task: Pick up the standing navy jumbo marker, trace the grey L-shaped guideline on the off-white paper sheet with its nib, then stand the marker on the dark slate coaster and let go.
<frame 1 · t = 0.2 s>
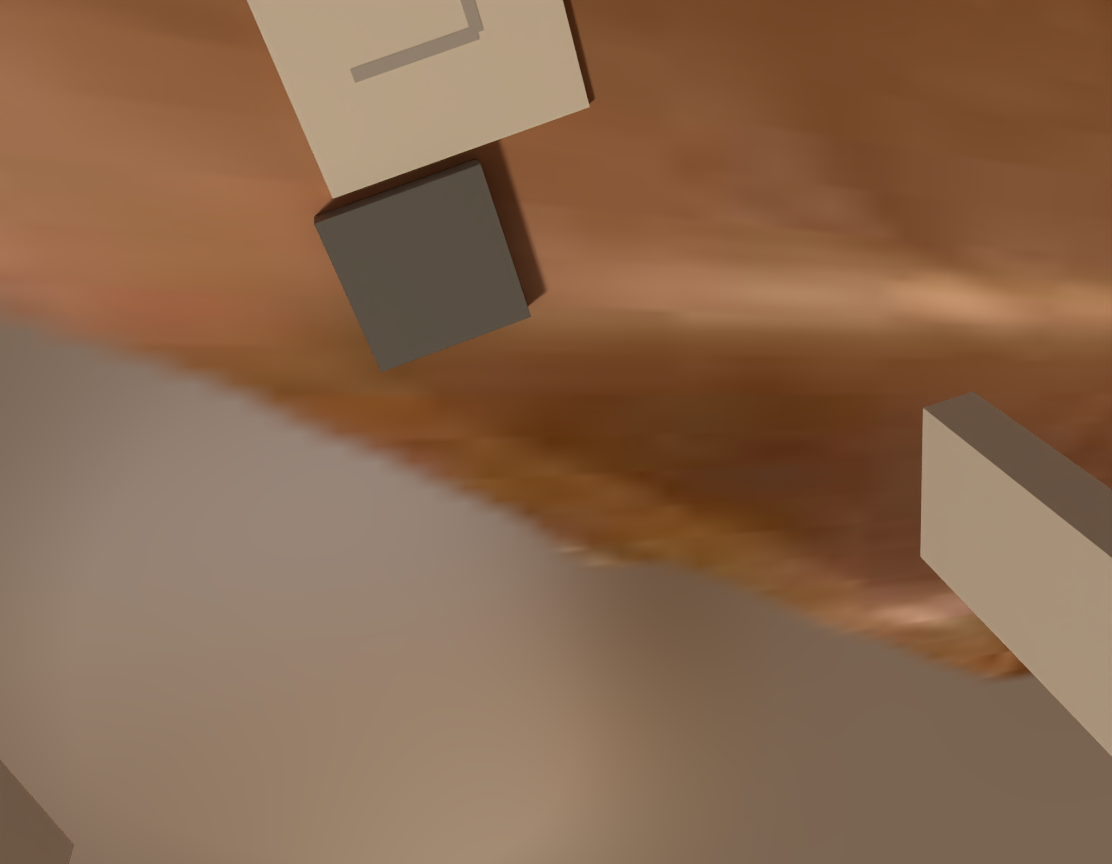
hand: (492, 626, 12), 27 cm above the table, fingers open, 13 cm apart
coaster: (426, 265, 38), on the table
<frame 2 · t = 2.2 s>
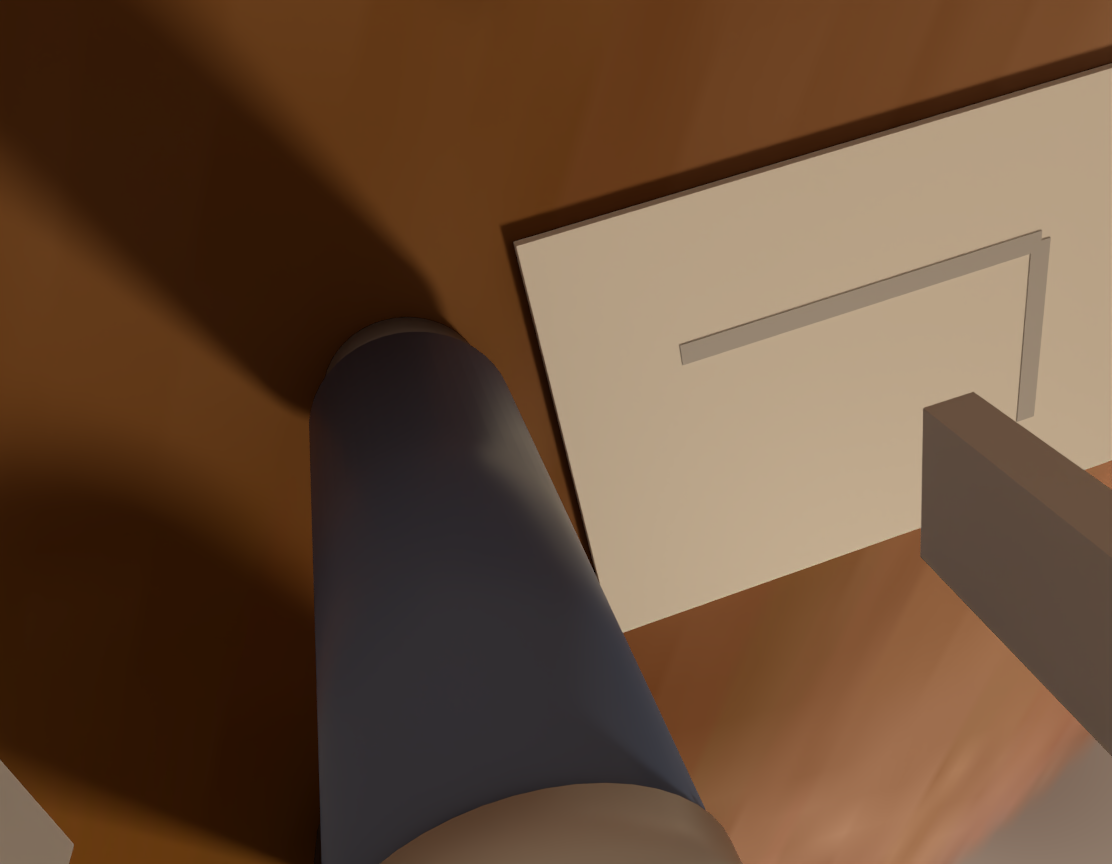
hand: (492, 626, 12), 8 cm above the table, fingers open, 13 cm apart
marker: (406, 392, 19), on the table
paper: (878, 360, 21), on the table
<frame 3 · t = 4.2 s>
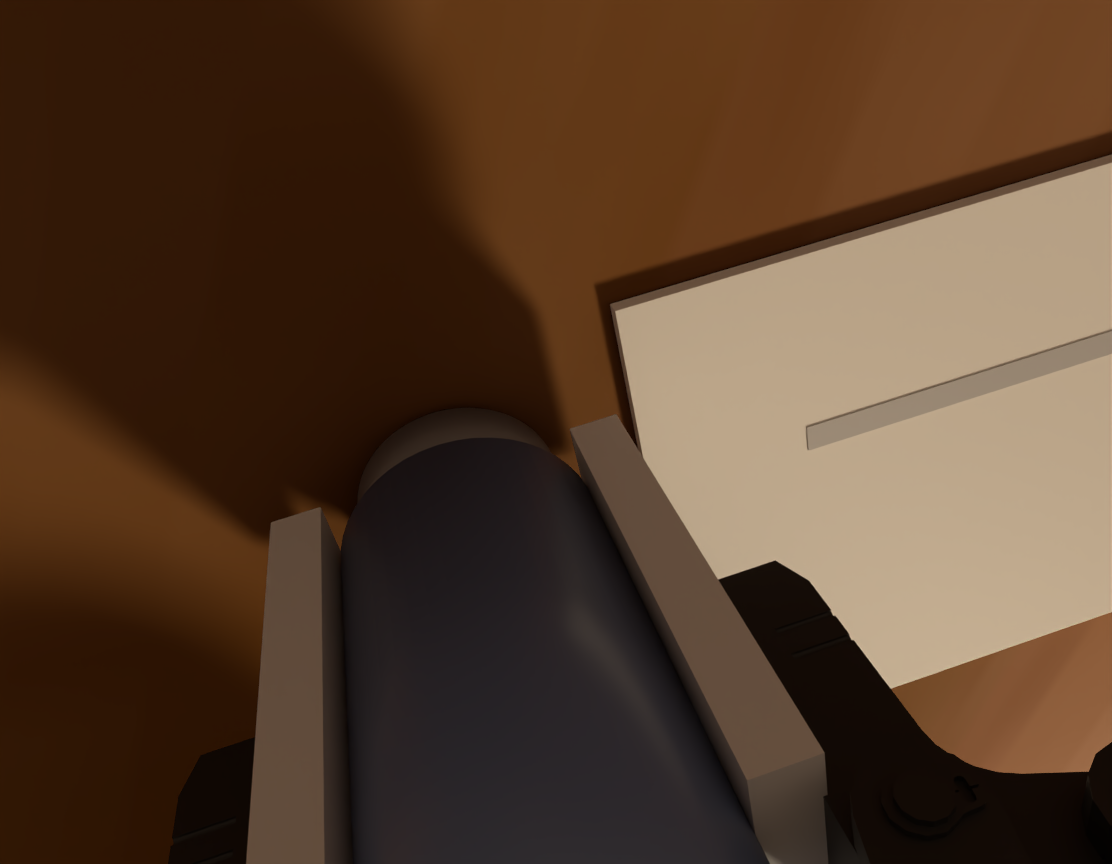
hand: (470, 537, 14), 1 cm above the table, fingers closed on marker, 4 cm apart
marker: (460, 496, 15), on the table, touching gripper
paper: (1038, 438, 17), on the table
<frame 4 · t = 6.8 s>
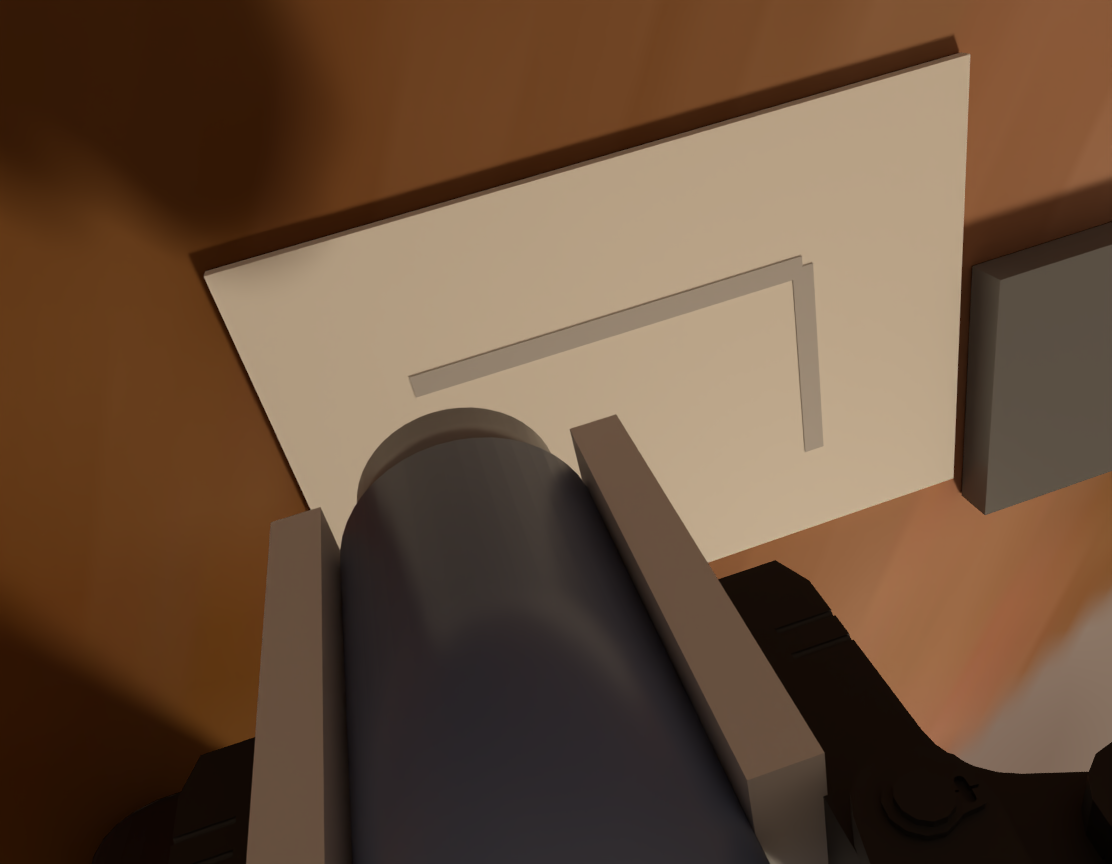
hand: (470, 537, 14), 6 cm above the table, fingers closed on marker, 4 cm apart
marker: (460, 496, 15), point 5 cm above the table, touching gripper
paper: (643, 390, 20), on the table
coaster: (1085, 350, 23), on the table
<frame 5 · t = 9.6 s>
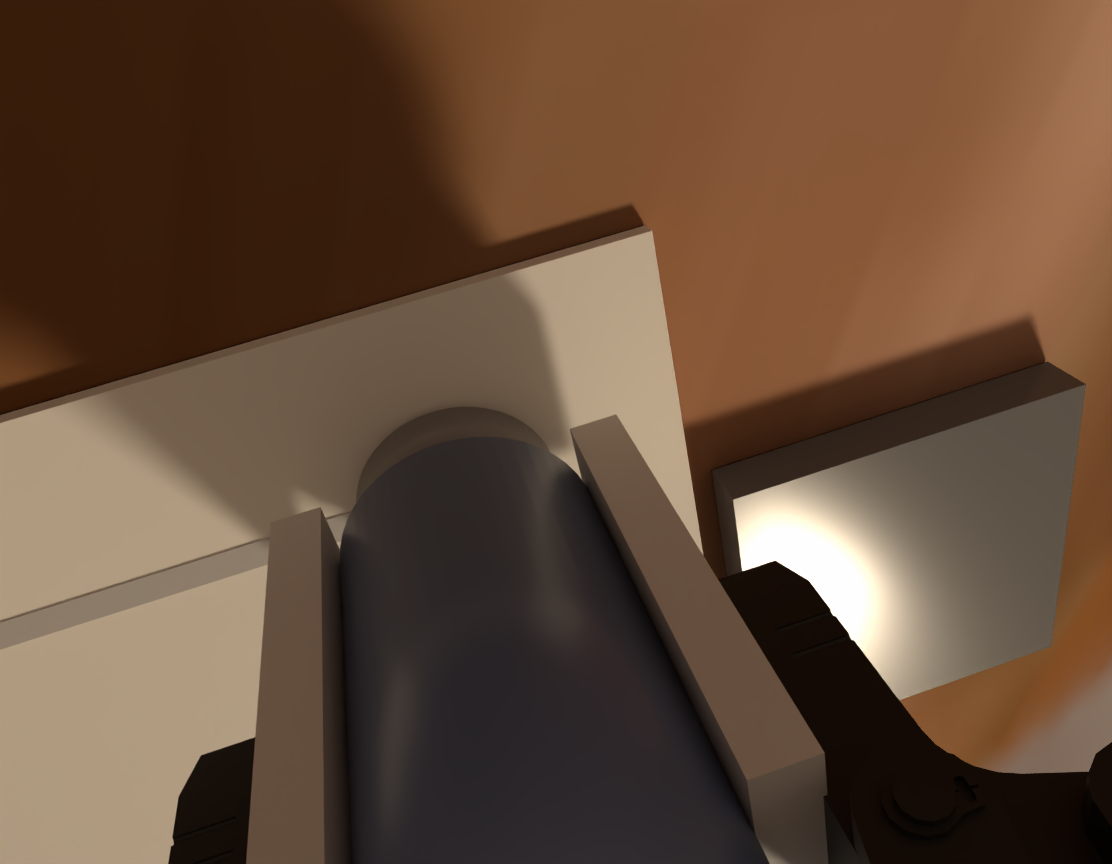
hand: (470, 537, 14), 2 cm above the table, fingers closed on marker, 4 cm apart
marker: (459, 496, 15), point 1 cm above the table, touching gripper
paper: (277, 633, 16), on the table
coaster: (884, 552, 19), on the table
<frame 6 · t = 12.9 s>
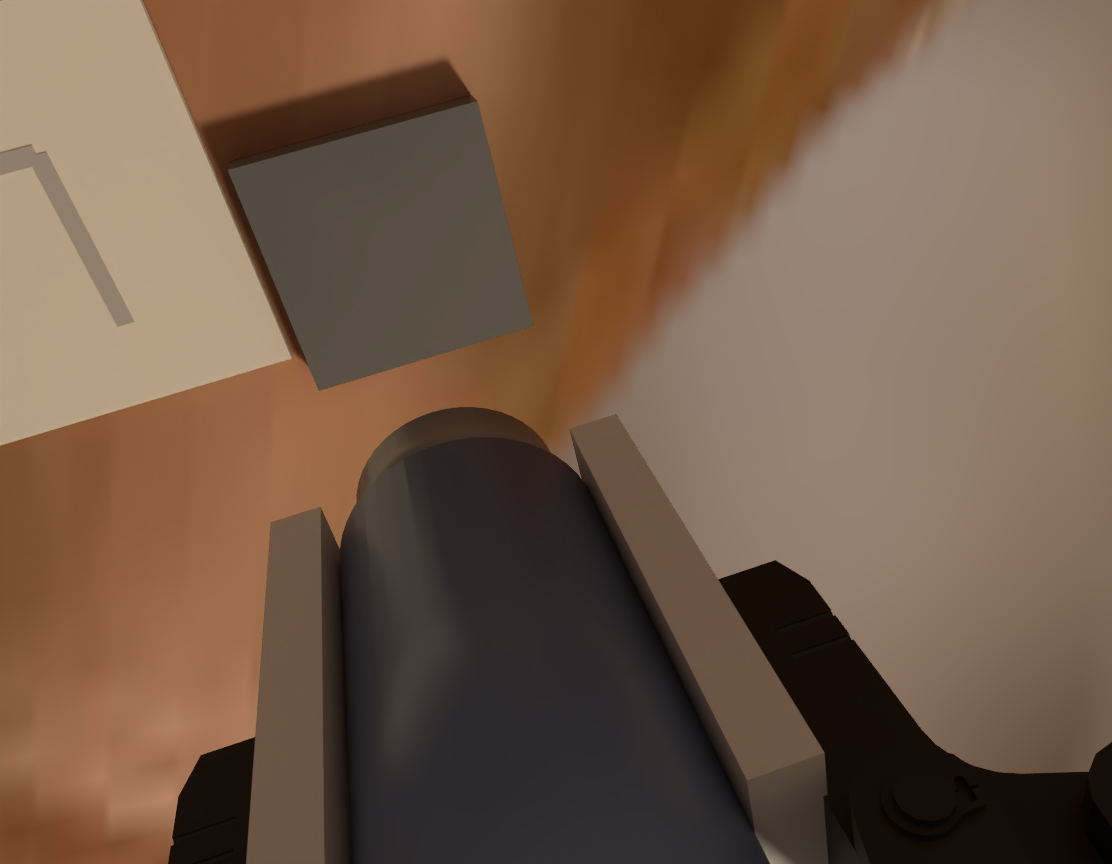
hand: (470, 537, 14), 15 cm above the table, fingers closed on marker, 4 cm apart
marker: (459, 496, 15), point 14 cm above the table, touching gripper
coaster: (390, 244, 27), on the table
when the fingers open (3 cm above the table, at t = 15.1 s): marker stays where it is, resting on coaster.
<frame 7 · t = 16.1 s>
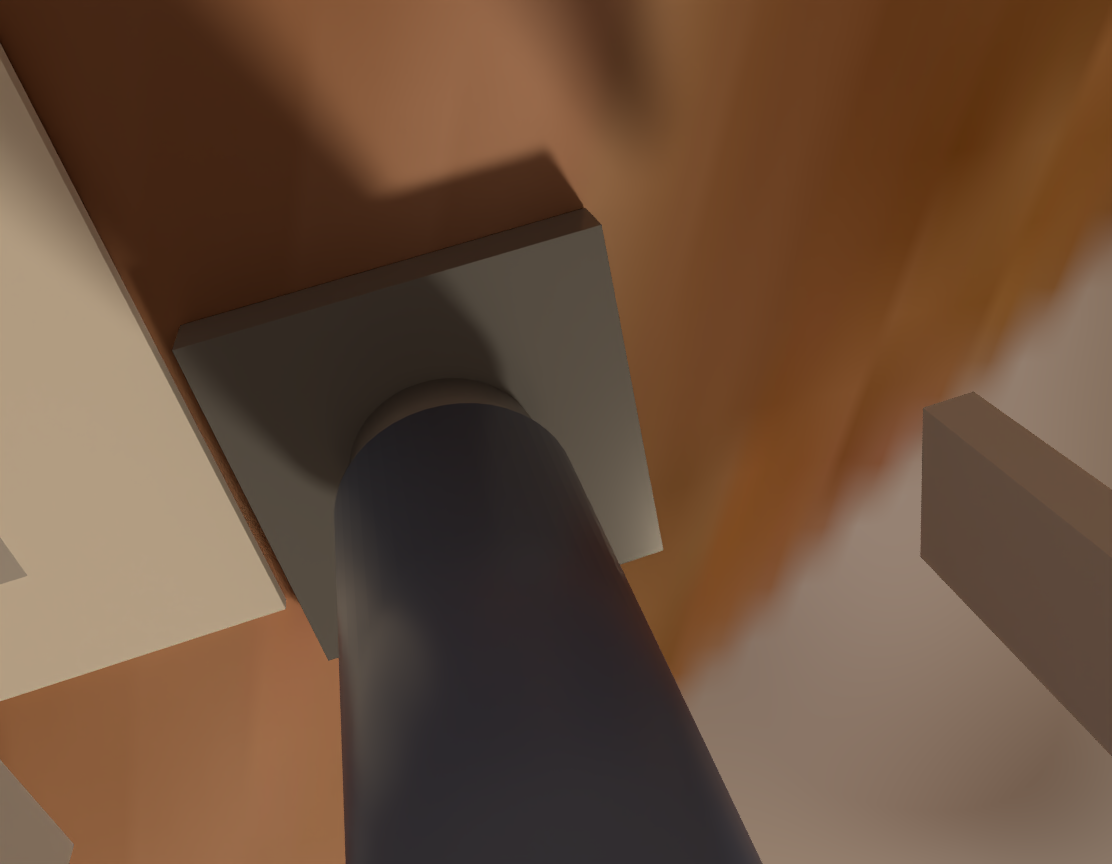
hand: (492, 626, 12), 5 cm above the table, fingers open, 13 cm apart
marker: (447, 463, 16), point 1 cm above the table, touching coaster
coaster: (444, 436, 17), on the table
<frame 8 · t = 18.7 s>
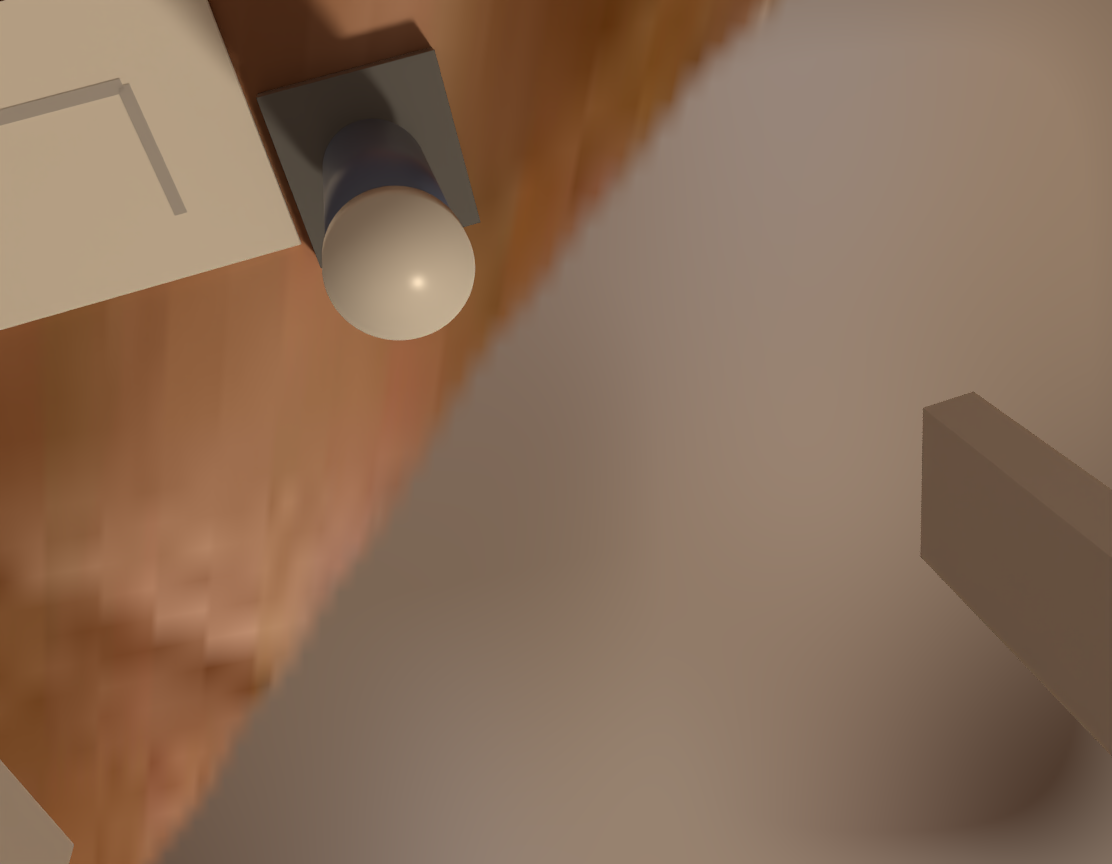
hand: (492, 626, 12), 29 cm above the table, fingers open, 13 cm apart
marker: (373, 163, 35), point 1 cm above the table, touching coaster
paper: (44, 165, 34), on the table
coaster: (373, 158, 36), on the table
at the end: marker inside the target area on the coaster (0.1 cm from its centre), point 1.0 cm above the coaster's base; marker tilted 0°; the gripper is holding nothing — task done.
